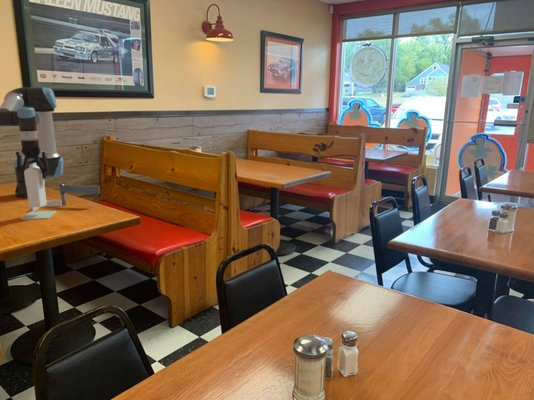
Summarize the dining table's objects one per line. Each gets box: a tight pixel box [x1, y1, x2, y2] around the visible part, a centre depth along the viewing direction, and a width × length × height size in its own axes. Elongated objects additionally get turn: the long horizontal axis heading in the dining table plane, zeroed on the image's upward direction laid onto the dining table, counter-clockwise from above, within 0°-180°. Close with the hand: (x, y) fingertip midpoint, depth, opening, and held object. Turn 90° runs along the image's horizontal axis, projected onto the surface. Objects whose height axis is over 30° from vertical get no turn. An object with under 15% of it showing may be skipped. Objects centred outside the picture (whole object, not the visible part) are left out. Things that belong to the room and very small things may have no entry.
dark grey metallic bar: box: [58, 183, 101, 195], centre depth 231 cm, size 23×3×5 cm, turn 85°
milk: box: [24, 163, 48, 208], centre depth 209 cm, size 6×6×22 cm
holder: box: [30, 193, 67, 212], centre depth 227 cm, size 14×14×7 cm
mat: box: [20, 210, 58, 221], centre depth 213 cm, size 13×13×1 cm
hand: (35, 184), depth 209 cm, fingers closed on milk, 7 cm apart
